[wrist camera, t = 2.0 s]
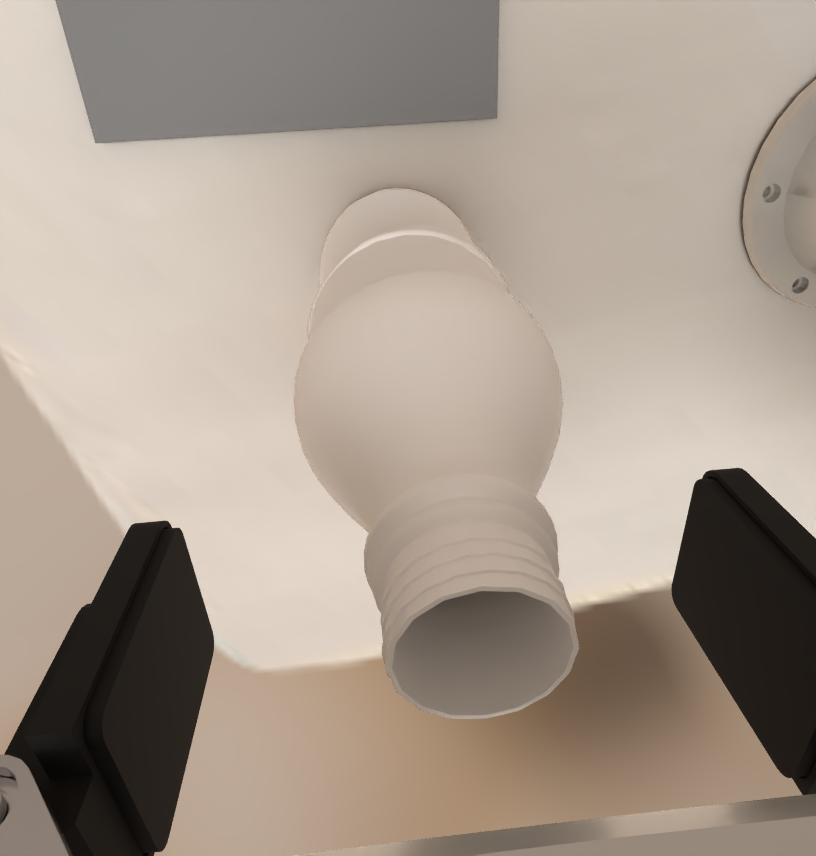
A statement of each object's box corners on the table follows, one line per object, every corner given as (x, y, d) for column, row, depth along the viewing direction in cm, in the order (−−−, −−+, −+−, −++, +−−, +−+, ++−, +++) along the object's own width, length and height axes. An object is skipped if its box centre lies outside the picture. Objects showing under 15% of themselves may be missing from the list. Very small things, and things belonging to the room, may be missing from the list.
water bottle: (313, 187, 29) (180, 490, 7) (462, 173, 29) (766, 427, 7) (334, 328, 33) (287, 816, 11) (466, 315, 33) (682, 768, 11)
